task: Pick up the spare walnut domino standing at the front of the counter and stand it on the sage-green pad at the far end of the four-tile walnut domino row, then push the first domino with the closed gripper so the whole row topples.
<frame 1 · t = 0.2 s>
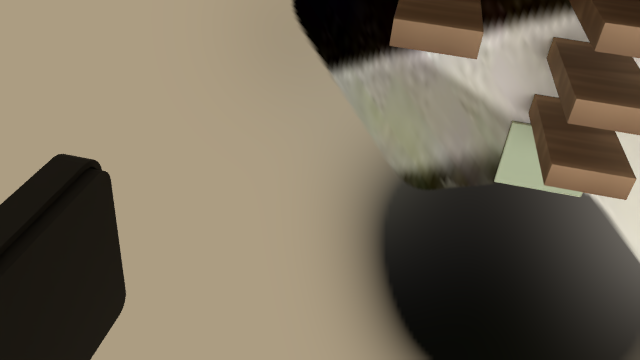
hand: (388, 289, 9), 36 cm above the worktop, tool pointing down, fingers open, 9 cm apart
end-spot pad: (547, 158, 47), on the worktop
domino 4: (565, 109, 44), on the worktop
domino 3: (585, 53, 42), on the worktop
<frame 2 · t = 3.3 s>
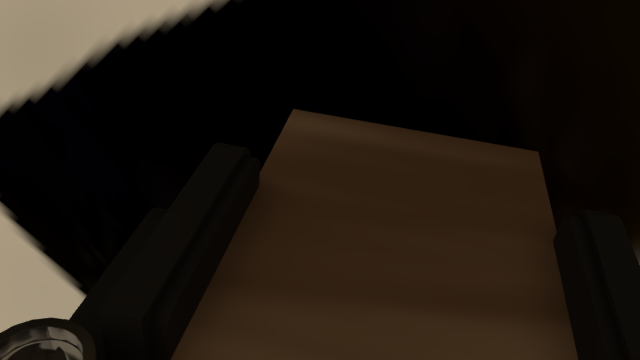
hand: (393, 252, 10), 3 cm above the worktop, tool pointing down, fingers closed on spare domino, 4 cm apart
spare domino: (406, 162, 12), on the worktop, touching gripper
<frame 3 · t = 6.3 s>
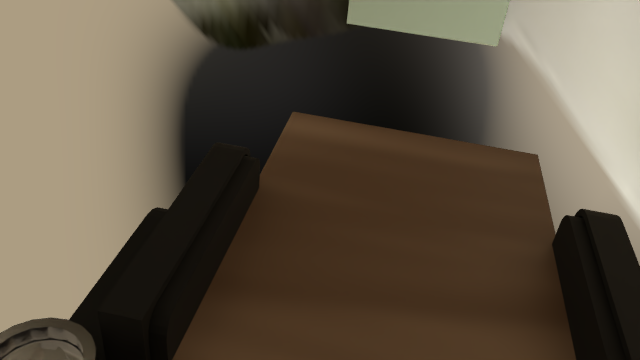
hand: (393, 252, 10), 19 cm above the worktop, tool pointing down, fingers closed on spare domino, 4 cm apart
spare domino: (405, 165, 12), point 16 cm above the worktop, touching gripper
when the fingers open (4 cm above the worktop, at t = 9.6 s): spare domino stays where it is, resting on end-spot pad.
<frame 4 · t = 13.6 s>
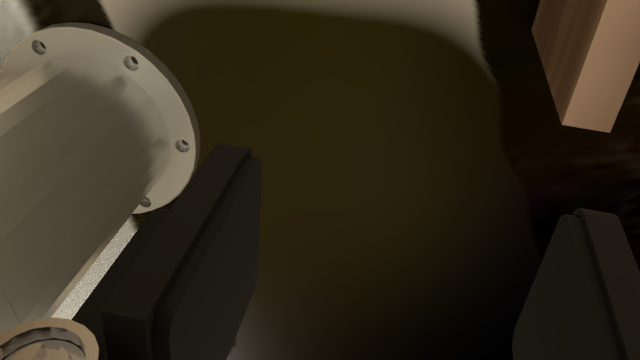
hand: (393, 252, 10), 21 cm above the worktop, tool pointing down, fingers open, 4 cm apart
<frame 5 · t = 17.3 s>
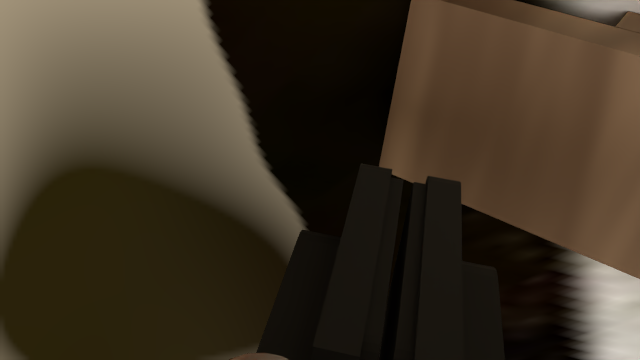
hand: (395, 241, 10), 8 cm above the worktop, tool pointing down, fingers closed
domino 2: (586, 111, 15), point 1 cm above the worktop, tilted 67°, touching domino 1, domino 3
domino 1: (407, 79, 16), point 1 cm above the worktop, tilted 68°, touching domino 2
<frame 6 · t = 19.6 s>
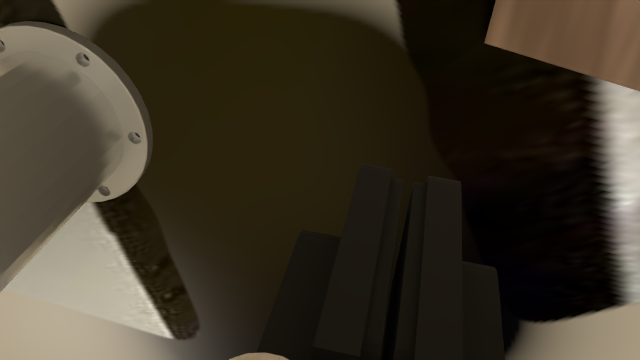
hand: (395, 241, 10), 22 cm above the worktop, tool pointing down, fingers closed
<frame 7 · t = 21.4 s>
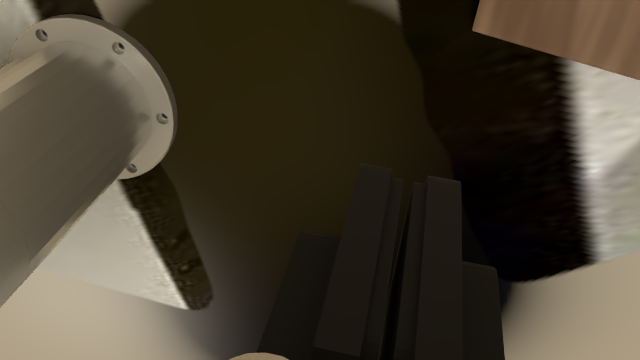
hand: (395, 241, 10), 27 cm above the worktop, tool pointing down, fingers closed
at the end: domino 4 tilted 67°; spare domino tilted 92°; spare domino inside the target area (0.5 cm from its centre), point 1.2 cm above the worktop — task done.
